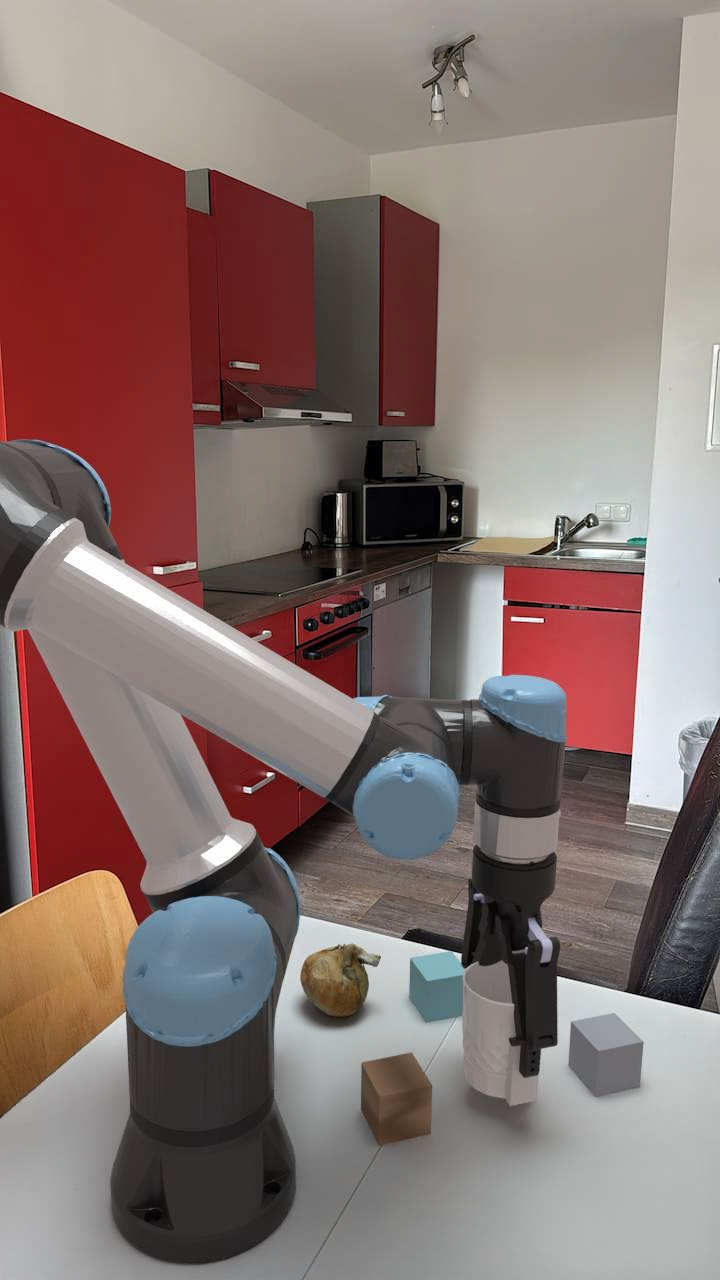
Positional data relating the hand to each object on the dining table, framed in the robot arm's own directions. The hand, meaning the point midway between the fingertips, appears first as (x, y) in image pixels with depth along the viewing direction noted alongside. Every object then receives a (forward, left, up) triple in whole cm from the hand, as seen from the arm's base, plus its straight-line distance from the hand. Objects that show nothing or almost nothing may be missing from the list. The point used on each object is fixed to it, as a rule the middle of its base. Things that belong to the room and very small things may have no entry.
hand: (501, 1072), depth 91 cm
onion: (-11, +19, -3) cm, 22 cm away
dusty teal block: (0, +16, -3) cm, 16 cm away
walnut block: (-11, 0, -3) cm, 11 cm away
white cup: (0, 0, -1) cm, 1 cm away
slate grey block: (+11, 0, -3) cm, 12 cm away
